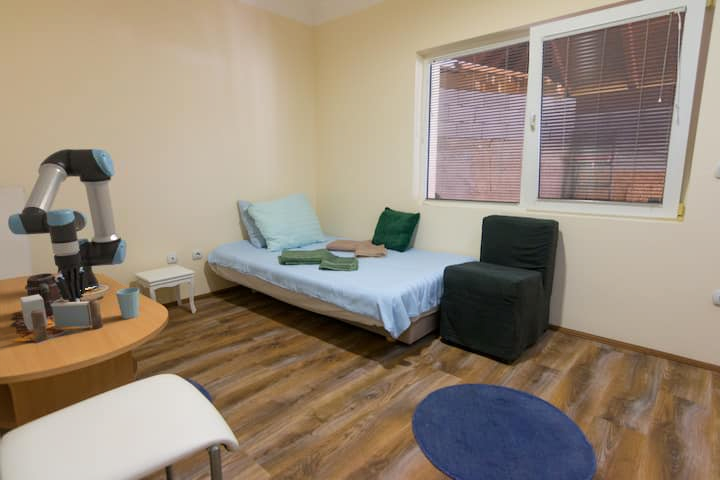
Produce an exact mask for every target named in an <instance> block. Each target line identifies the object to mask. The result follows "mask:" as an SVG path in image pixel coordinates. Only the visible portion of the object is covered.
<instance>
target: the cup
mask: <svg viewBox="0 0 720 480" xmlns="http://www.w3.org/2000/svg"><path fill="white" fill-rule="evenodd" d="M115 296H116V298H117V301H118V306H119V310H120V313H121V317H122V319H123V320H124V319H125V320H130V319H134V318H137V317H138V316H140V315H139V313H140V310H139V309H140V307H139V306H140V304H139V303H140V288H138V287H127V288H126V287H125V288H121V289H118V290H117V291H116V292H115Z"/></svg>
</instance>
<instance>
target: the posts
mask: <svg viewBox="0 0 720 480" xmlns="http://www.w3.org/2000/svg"><path fill="white" fill-rule="evenodd" d="M100 306H101V305H100V299H93V300H89V310H90V317H91V323H92V325H91V326H92V327H91V326H87V327H84V328H79V329H74V330H73V329H72V330H70V331H64V332H60V333H55V334H54V333H53V334H50V335H48V332H47V331H48V330H47V326H46V324H45V318H44V312H43V309H40V310H34V311H31V318H32V323H33V329H32V330H33V333H34V340H35V343H36V342H42V341H47V340H48V339H53V338H57V337H62V336H68V335H75V334H77V333H78V334H79V333H82V332H88V331H91V328H92V330H99V329H102V328H103V322H102V312H101V307H100Z"/></svg>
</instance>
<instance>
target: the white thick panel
mask: <svg viewBox="0 0 720 480" xmlns="http://www.w3.org/2000/svg"><path fill="white" fill-rule="evenodd" d="M89 301H90V300H89ZM89 301H87V300H86V301H81V302H69V301H65V302H64V301H63V302H59V303H52V304H51V306H52V309H53V315H52V316H53V322H54V327H55V328H71V327H72V328H74V327H91V326H92V321H91V314H90V307H89Z"/></svg>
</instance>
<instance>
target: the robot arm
mask: <svg viewBox="0 0 720 480" xmlns="http://www.w3.org/2000/svg"><path fill="white" fill-rule="evenodd" d="M37 173H38V177H37V179H36V181H35V183H34V186H33V188H32V190H31V192H30V194H29V197H28V199H27V200H26V203H25V205H24V206H23V207H24V208H23V209H22V211H21V213H14V214H11V215H9V217H8V221H7V226H8V228H9V231H10V232H11V233H12V234H14V235H22V236H23V235H25V236H26V235H27V236H28V235H39V234H40V235H41V234H42V235H43V234H49V237H50V242H51V246H52V253H53V254H54V256H53V260H54V264H55V266H56V267H57V275H56V276H55V277H53V278H52V279H53V280H54V281H55V282H56V284H57V286H58V289H59V292H60V295H61V296H62V298H63V299H62V300H63V301H68V302H82V301H81V300H82V299H81V298H83V297H84V295H85V293H86V291H85V288H88V287H93V286H98V285H99V280H98V278H97V277H96V275H95V273H94V271H93V267H98V266H99V267H100V266H114V265H121V264H123V263H124V261H125V259H126V255H127V241H126V240H125V239H123V238H121V237H122V236H121V235H120V234H119V233H117V231H116V225H115V219H114V212H113V205H112V200H111V199H112V198H111V193H110V187H109V183H110V182H111V181H112V177H114V176H115V165H114V162H113V159H112V157H111V155H110V154H109V152H108V151H106V150H104V149H95V148H94V149H93V148H89V149H86V148H84V149H83V148H82V149H81V148H80V149H78V148H77V149H75V148H72V149H70V148H66V149H61V150H58V151H55V152H53V153H52V154H49V156H47V157H46V158H45V159H44V160H43V161H42V162H41V163H40V165H39V167H38V170H37ZM69 177H76V178H77V177H79V182H81V183H82V184H83V185H84V186H85V191H86V196H87V200H88V206H89V208H88V209H89V211H90V217H91V223H92V228H93V233H94V235H93V236H92V238H91V241H89V238H78V233H77V232H79V231H82V230H84V228H85V227H87V225H88V218H87V216H86V215H85V214H84V213H83V212H82V211H79V210H72V209H69V208H65V209H63V208H61V209H59V208H58V209H52V207H53V204H54V201H55V199H56V197H57V195H58V192H59V190H60V187H61V185H62V183H63V182H65V181H66V180H67V178H69ZM98 287H99V286H98ZM80 290H81V291H80Z"/></svg>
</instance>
